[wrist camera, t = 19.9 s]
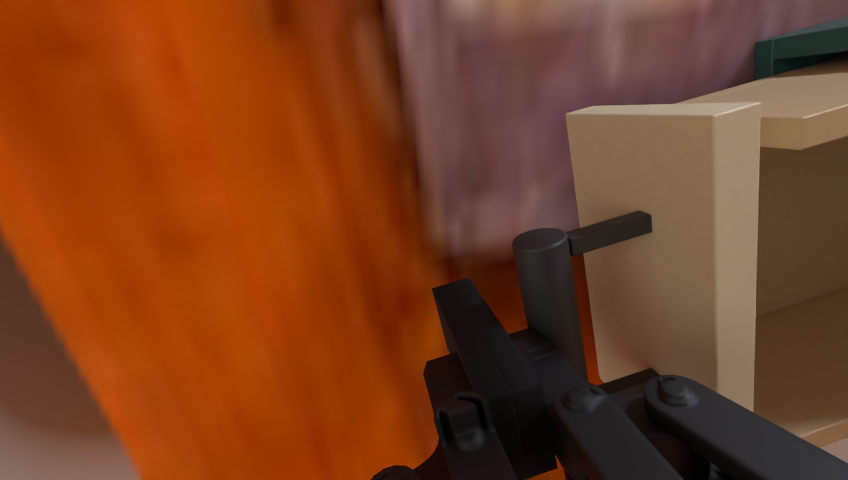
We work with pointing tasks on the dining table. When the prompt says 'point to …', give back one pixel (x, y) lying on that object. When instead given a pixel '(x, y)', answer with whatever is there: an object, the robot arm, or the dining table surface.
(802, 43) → the cabinet
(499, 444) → the robot arm
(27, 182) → the dining table surface
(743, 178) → the drawer
